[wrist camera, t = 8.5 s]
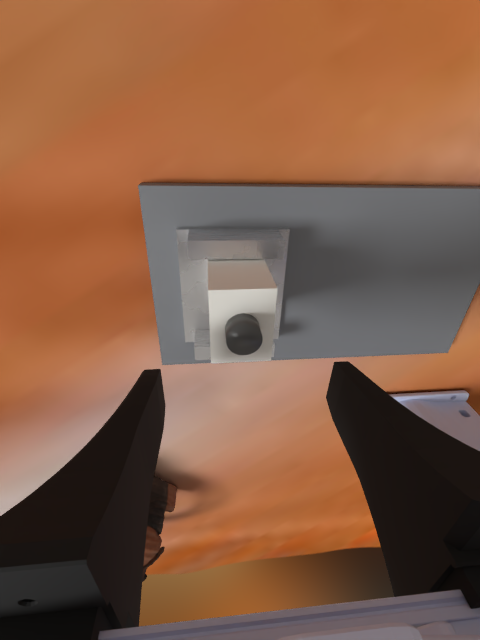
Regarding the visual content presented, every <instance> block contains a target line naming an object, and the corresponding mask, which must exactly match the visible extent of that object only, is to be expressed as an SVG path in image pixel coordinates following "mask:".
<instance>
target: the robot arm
mask: <svg viewBox="0 0 480 640" xmlns="http://www.w3.org/2000/svg"><path fill="white" fill-rule="evenodd" d="M468 397H469V393H468V392H467V391H465V390H460V391H442V392H423V393H405V394H388V393H386V392H385V391H384V390H383V389H381V388H380V387H379V386H378V385H376V384H375V383H374V382H373V381H372V380H370V379H369V378H368V377H367V376H365V375H364V374H363V373H362V372H361V371H359V370H358V369H357V368H356V367H355V366H353V365H352V364H351V363H350V362H334V365H333V370H332V374H331V378H330V383H329V387H328V391H327V396H326V399H327V402H328V406H329V409H330V412H331V415H332V419H333V421H334V423H335V426H336V428H337V430H338V432H339V435H340V437H341V439H342V441H343V443H344V446H345V448H346V450H347V452H348V454H349V456H350V459H351V461H352V463H353V465H354V467H355V470H356V472H357V474H358V477H359V479H360V482H361V485H362V488H363V491H364V494H365V497H366V500H367V503H368V506H369V509H370V512H371V515H372V518H373V521H374V524H375V528H376V531H377V534H378V538H379V541H380V545H381V548H382V551H383V555H384V558H385V562H386V566H387V570H388V573H389V577H390V581H391V585H392V589H393V593H394V596H395V597H391V598H382V599H373V600H365V601H356V602H348V603H339V604H330V605H321V606H313V607H304V608H296V609H287V610H278V611H270V612H261V613H253V614H244V615H235V616H227V617H218V618H209V619H201V620H192V621H183V622H175V623H167V624H158V625H150V626H140V627H139V615H140V600H141V587H142V576H143V565H144V553H145V543H146V532H147V522H148V513H149V504H150V495H151V489H152V483H153V478H154V473H155V468H156V463H157V459H158V454H159V449H160V444H161V439H162V434H163V428H164V417H165V400H164V392H163V385H162V377H161V370H160V369H153V370H144V371H143V372H142V374H141V375H140V377H139V378H138V380H137V382H136V383H135V385H134V386H133V388H132V389H131V391H130V392H129V393H128V395H127V396H126V398H125V399H124V400H123V402H122V403H121V404H120V406H119V407H118V409H117V410H116V411H115V412H114V414H113V415H112V416H111V417H110V419H109V420H108V421H107V422H106V423H105V425H104V426H103V427H102V428H101V429H100V430H99V432H98V433H97V434H96V435H95V436H94V437H93V438H92V439H91V440H90V441H89V442H88V443H87V445H86V446H85V447H84V448H83V449H82V450H81V451H80V452H79V453H78V454H76V455H75V456H74V457H73V458H72V459H71V460H70V461H69V462H68V463H67V464H66V465H65V466H64V467H63V468H62V469H60V470H59V471H58V472H57V473H56V474H55V475H53V476H52V477H51V478H50V479H49V480H47V481H46V482H45V483H44V484H43V485H41V486H40V487H39V488H38V489H37V490H35V491H34V492H33V493H32V494H30V495H29V496H28V497H26V498H25V499H24V500H22V501H21V502H20V503H18V504H17V505H15V506H14V507H13V508H11V509H10V510H8V511H7V512H6V513H4V514H3V515H2V516H0V640H480V416H479V415H478V413H477V412H476V411H475V410H474V409H473V408H472V407H471V406H470V405H469V404H468V403H467V402H466V401H467V399H468Z"/></svg>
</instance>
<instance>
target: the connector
mask: <svg viewBox="0 0 480 640" xmlns="http://www.w3.org/2000/svg"><path fill="white" fill-rule="evenodd" d="M208 298H209V324H210V350H211V364H212V363H234V362H255V361H271V356H272V345H273V333H274V322H275V311H276V299H277V286H276V284H275V282H274V280H273V277H272V275H271V273H270V271H269V269H268V266H267V264H266V262H265V260H264V259H217V260H208Z"/></svg>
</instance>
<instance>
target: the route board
mask: <svg viewBox="0 0 480 640" xmlns="http://www.w3.org/2000/svg"><path fill="white" fill-rule="evenodd" d="M138 188H139V195H140V203H141V210H142V217H143V225H144V232H145V240H146V247H147V254H148V262H149V269H150V277H151V284H152V292H153V299H154V306H155V314H156V321H157V329H158V336H159V343H160V351H161V358H162V365H173V364H196V363H211V360H195V352H194V342H185V332H184V320H183V307H182V295H181V283H180V271H179V259H178V247H177V235H176V228H289V229H290V232H289V241H288V251H287V260H286V270H285V279H284V289H283V298H282V308H281V317H280V327H279V337H278V339H273V340H274V343H275V349H274V357H271V360H289V359H313V358H336V357H359V356H383V355H406V354H429V353H448V351H449V349H450V347H451V345H452V342H453V340H454V338H455V336H456V334H457V331H458V329H459V327H460V325H461V323H462V320H463V318H464V316H465V314H466V312H467V310H468V307H469V305H470V303H471V301H472V299H473V296H474V294H475V292H476V290H477V288H478V286H479V283H480V186H419V185H323V184H227V183H140V184H139V185H138Z"/></svg>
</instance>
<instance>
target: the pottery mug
mask: <svg viewBox="0 0 480 640" xmlns="http://www.w3.org/2000/svg"><path fill="white" fill-rule="evenodd" d="M176 491H177V488H176V487H175V486H174V485H172V484H170V483H167V482H166V481H163V480H161V479H160V478H158V477H155V476H154V478H153V483H152V489H151V495H150V504H149V513H148V522H147V532H146V543H145V553H144V565H143V576H142V582H143V581H144V580H145V579H146V577H147V575H146V574H145V572H146V569H147V568H148V567H149V566H150V565H152V564H153V563H154V562H155V561H156V560H157V559H158V558H159V556H160V555H161V554H162V553H163V551H164V547H161V548H160V546H161V542H162V540H161V537H160V536H159V534H161V532H162V528H163V521H164V513H165V511H168V512H172V511H174V508H175V501H176Z"/></svg>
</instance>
